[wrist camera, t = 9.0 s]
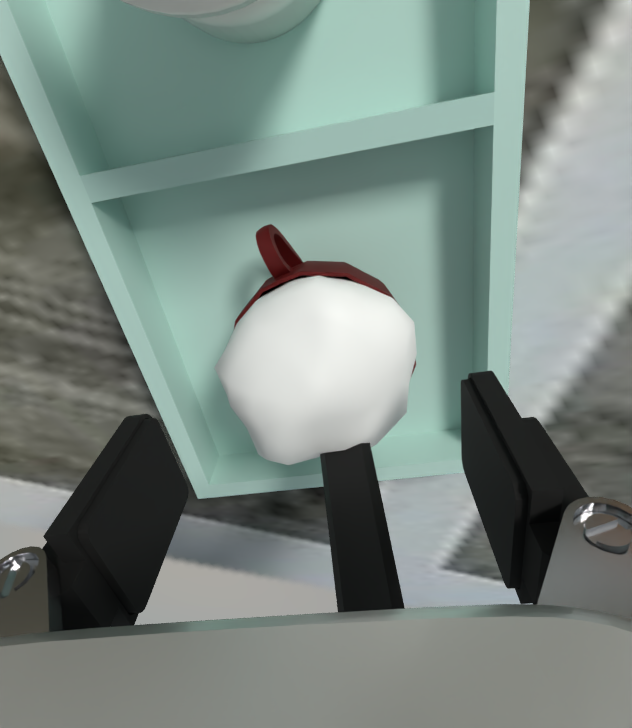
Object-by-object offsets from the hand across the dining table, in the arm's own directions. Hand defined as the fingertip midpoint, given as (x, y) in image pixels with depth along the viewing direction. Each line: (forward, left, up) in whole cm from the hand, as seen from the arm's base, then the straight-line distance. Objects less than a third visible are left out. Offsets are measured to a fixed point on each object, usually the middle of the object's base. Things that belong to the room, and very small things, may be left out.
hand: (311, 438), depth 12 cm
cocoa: (0, 0, -7) cm, 7 cm away
